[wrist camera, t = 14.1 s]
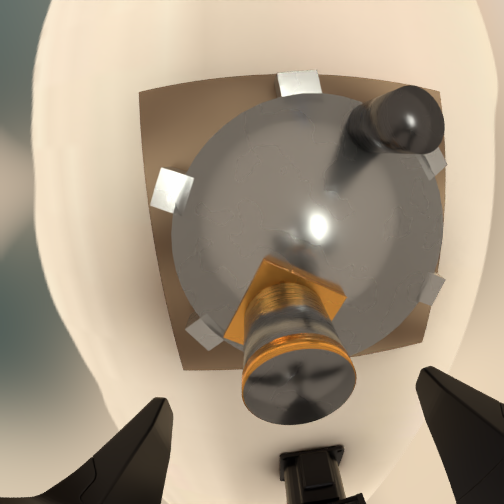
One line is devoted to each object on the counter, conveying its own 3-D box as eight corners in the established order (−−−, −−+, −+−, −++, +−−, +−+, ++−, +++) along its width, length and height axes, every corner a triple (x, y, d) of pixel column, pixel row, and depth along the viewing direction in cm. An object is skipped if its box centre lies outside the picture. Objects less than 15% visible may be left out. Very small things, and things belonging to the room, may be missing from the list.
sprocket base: (416, 334, 18) (422, 342, 17) (186, 361, 18) (183, 371, 17) (430, 93, 13) (440, 91, 12) (145, 95, 13) (138, 91, 12)
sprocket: (469, 175, 13) (533, 189, 8) (369, 373, 17) (397, 430, 12) (217, 47, 11) (200, -8, 6) (134, 308, 15) (95, 367, 10)
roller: (323, 346, 14) (348, 416, 10) (246, 354, 14) (246, 429, 10) (326, 277, 13) (364, 340, 8) (239, 285, 13) (235, 354, 8)
